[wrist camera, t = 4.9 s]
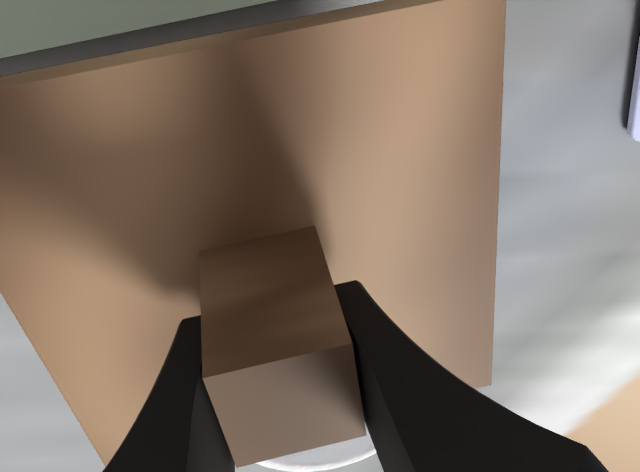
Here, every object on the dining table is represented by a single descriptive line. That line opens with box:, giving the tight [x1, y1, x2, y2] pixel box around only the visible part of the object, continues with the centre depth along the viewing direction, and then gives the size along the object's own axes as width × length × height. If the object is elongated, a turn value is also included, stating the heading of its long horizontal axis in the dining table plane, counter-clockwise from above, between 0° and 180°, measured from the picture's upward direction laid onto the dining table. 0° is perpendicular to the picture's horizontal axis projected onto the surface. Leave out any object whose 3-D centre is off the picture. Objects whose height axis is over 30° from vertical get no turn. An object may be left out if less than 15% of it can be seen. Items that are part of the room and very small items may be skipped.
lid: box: [0, 0, 506, 467], centre depth 14 cm, size 12×12×5 cm
